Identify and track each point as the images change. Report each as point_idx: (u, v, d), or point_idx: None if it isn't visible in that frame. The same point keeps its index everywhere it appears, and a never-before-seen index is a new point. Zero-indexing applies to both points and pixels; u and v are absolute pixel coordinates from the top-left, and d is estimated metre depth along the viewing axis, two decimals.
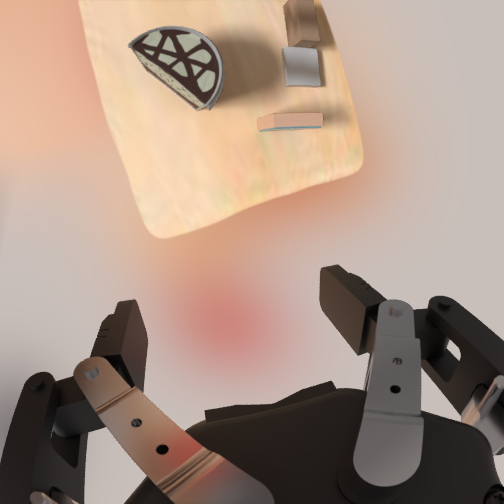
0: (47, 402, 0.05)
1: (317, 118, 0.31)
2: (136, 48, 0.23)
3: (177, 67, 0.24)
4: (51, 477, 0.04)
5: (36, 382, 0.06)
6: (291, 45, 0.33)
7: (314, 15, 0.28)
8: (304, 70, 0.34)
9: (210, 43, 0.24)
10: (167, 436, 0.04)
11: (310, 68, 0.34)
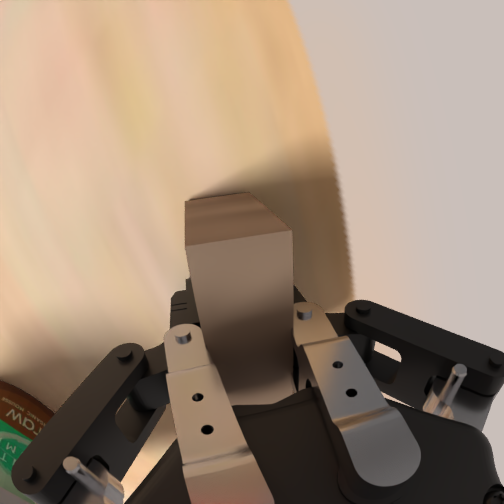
0: (127, 376, 0.07)
1: None
2: None
3: None
4: (99, 447, 0.05)
5: (124, 353, 0.07)
6: None
7: (285, 348, 0.09)
8: None
9: None
10: (218, 419, 0.05)
11: None
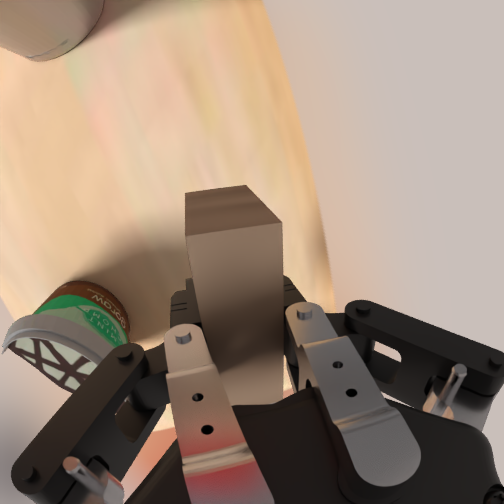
0: (127, 376, 0.07)
1: None
2: (13, 351, 0.15)
3: (71, 384, 0.17)
4: (99, 447, 0.05)
5: (124, 353, 0.07)
6: None
7: (276, 330, 0.09)
8: None
9: (96, 361, 0.16)
10: (218, 419, 0.05)
11: None
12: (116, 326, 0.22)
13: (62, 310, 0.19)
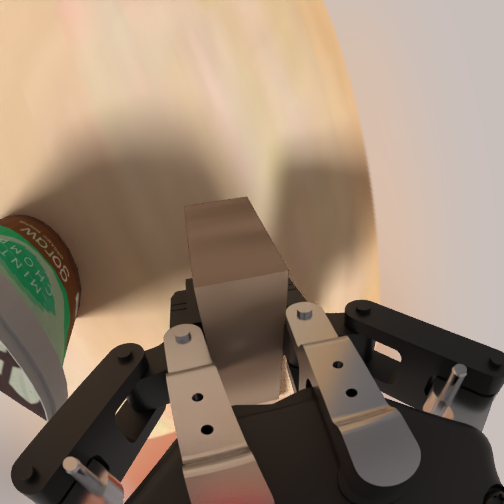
0: (126, 376, 0.07)
1: None
2: None
3: None
4: (99, 447, 0.05)
5: (124, 352, 0.07)
6: None
7: (276, 351, 0.10)
8: None
9: None
10: (218, 419, 0.05)
11: None
12: (47, 273, 0.12)
13: None
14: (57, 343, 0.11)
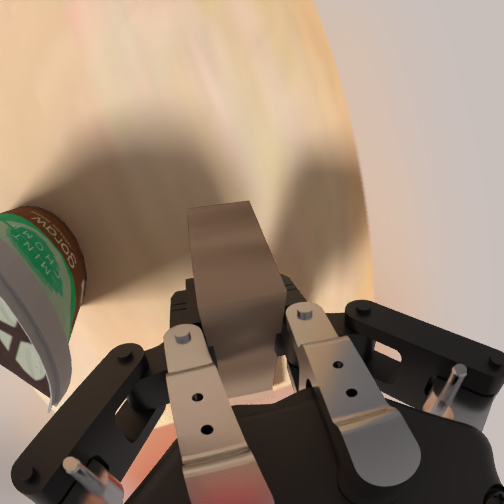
0: (126, 376, 0.07)
1: None
2: None
3: None
4: (98, 447, 0.05)
5: (124, 353, 0.07)
6: None
7: (272, 353, 0.11)
8: None
9: None
10: (218, 419, 0.05)
11: None
12: (56, 257, 0.13)
13: None
14: (63, 322, 0.12)
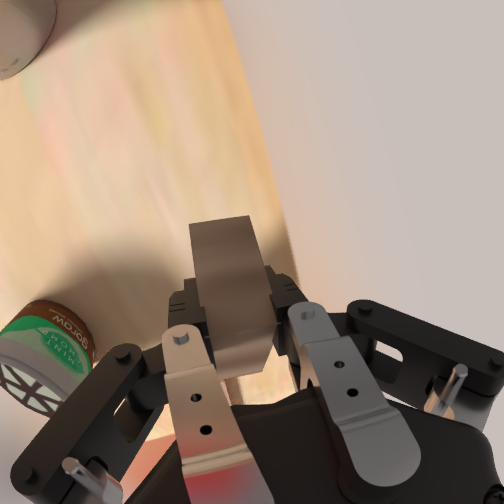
0: (125, 377, 0.07)
1: None
2: None
3: (32, 403, 0.15)
4: (97, 447, 0.05)
5: (122, 353, 0.07)
6: None
7: (264, 353, 0.13)
8: None
9: (49, 386, 0.14)
10: (217, 419, 0.05)
11: None
12: (75, 348, 0.20)
13: (22, 332, 0.17)
14: None
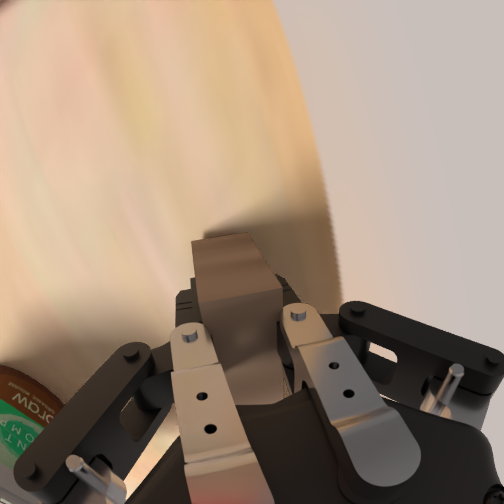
0: (133, 376, 0.07)
1: None
2: None
3: (5, 502, 0.06)
4: (103, 445, 0.05)
5: (130, 351, 0.07)
6: None
7: (277, 369, 0.10)
8: None
9: (17, 503, 0.06)
10: (222, 419, 0.05)
11: None
12: None
13: None
14: None
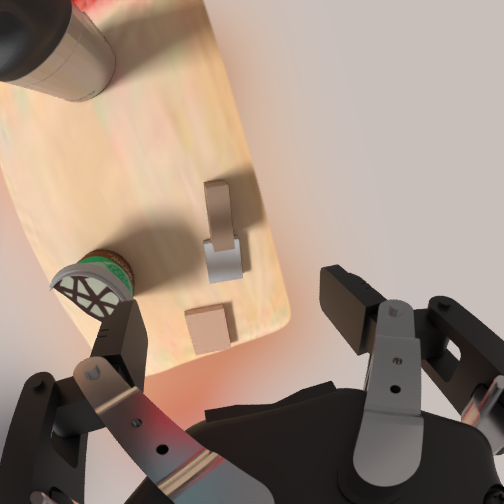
0: (47, 402, 0.05)
1: None
2: (57, 289, 0.29)
3: (94, 310, 0.30)
4: (51, 477, 0.04)
5: (36, 382, 0.06)
6: (211, 239, 0.39)
7: (229, 216, 0.35)
8: (225, 266, 0.41)
9: (114, 290, 0.30)
10: (167, 436, 0.04)
11: (232, 262, 0.41)
12: (126, 276, 0.35)
13: (92, 263, 0.32)
14: None
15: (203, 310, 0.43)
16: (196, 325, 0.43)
